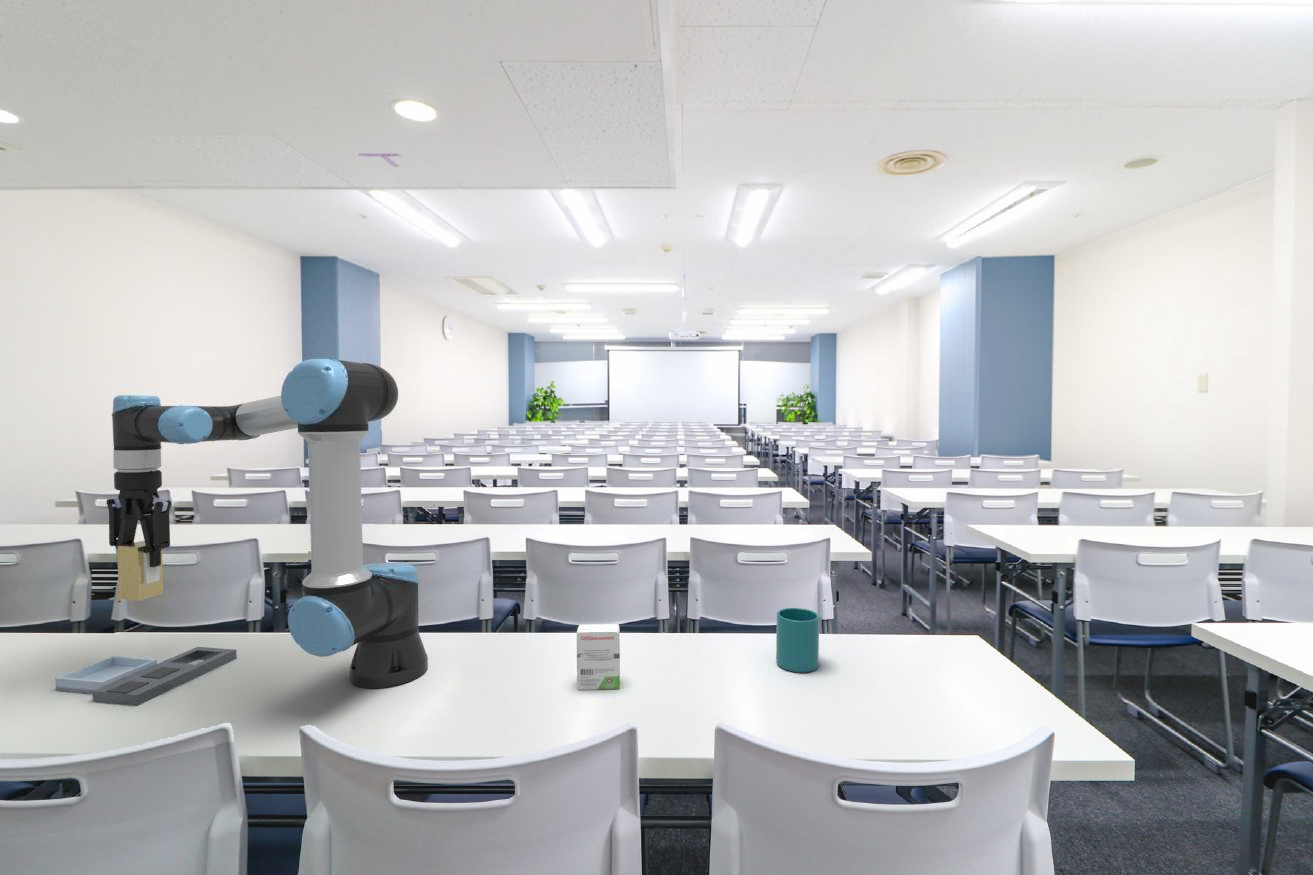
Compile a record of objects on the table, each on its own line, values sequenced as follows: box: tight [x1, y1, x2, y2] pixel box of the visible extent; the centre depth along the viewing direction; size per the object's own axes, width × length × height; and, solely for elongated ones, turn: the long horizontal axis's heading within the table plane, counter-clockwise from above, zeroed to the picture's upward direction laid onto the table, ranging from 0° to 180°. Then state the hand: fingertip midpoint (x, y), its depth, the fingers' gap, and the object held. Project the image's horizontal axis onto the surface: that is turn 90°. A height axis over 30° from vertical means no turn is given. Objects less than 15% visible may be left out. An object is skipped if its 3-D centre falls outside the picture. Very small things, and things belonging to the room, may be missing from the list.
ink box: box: [576, 623, 621, 691], centre depth 123 cm, size 9×5×12 cm, turn 93°
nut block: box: [117, 540, 164, 602], centre depth 126 cm, size 5×5×11 cm
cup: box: [775, 607, 820, 674], centre depth 134 cm, size 9×12×11 cm
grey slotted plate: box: [92, 646, 238, 707], centre depth 125 cm, size 10×22×2 cm, turn 171°
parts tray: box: [54, 655, 158, 695], centre depth 124 cm, size 11×11×2 cm
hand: (140, 580), depth 126 cm, fingers closed on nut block, 5 cm apart
